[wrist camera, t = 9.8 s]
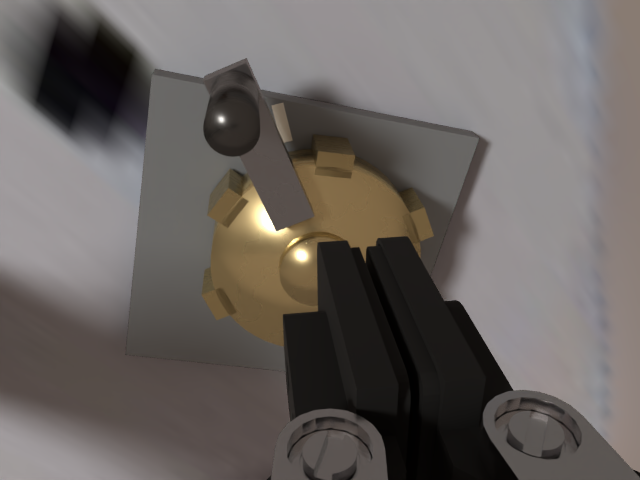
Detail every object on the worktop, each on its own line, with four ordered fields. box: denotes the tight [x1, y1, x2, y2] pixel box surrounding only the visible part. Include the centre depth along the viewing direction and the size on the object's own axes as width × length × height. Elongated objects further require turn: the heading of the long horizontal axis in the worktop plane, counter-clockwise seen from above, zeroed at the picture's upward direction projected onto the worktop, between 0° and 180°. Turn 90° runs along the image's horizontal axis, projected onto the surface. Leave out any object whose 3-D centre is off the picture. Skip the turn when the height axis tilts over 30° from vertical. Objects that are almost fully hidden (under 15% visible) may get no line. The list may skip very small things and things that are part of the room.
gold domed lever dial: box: [201, 58, 434, 347], centre depth 28 cm, size 17×12×9 cm
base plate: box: [125, 69, 479, 372], centre depth 34 cm, size 17×17×1 cm
